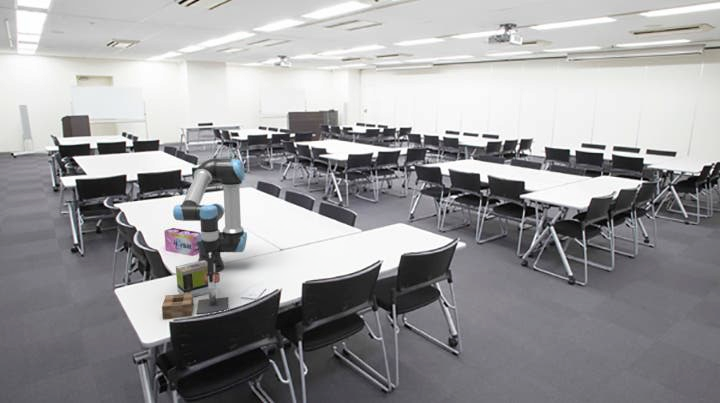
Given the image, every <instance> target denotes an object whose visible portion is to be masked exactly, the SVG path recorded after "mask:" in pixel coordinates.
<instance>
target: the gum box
mask: <svg viewBox="0 0 720 403" xmlns="http://www.w3.org/2000/svg"><path fill="white" fill-rule="evenodd" d="M163 232H164V243H165V251H166V252H172V253H176V254H180V253H181V254H180V255H185V254H186V256H191V257H192V256H193V257H194V256H196V255H199V245H198V235H199V233H200V232H201V231H200V232H199V231H195V230H194V231H193V230H186V229H181V228H176V227H172V228H168V229H165V230H164V231H163Z"/></svg>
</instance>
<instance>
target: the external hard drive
mask: <svg viewBox="0 0 720 403" xmlns="http://www.w3.org/2000/svg"><path fill="white" fill-rule="evenodd" d="M264 291H265V292H266V291H267V289H266V288H265V287H259V286H251V287H249V289H247V290H246V291H245V293H244V294H242V296H240V299H241V300H250V301H257V300H258V299H259V298H260V297H261V296H262V295H263V293H265V292H264ZM256 299H257V300H256Z"/></svg>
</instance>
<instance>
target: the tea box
mask: <svg viewBox="0 0 720 403" xmlns="http://www.w3.org/2000/svg"><path fill="white" fill-rule="evenodd" d="M207 273H208V266H207V262H206V261H205V260H202V261H198V260H197V261H194V262H190V263H185V264H179V265H177V266H176V265H175V275H176V287H177V292H178V294H187V293H193V298H194V297H197V296H201V295H204V294H209V289H208V284H206V283H204V275H205V274H207Z"/></svg>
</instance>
